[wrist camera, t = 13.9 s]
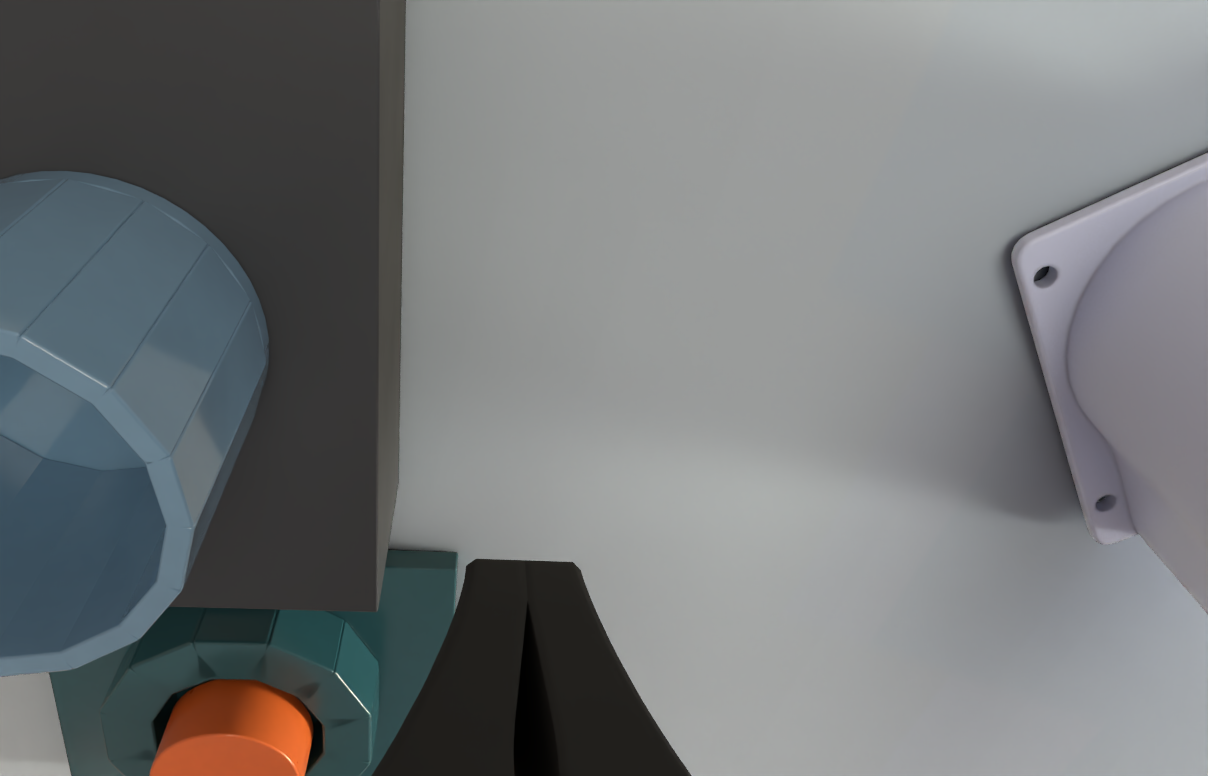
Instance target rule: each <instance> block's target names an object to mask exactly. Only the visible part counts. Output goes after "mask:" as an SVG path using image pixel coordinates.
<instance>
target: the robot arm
mask: <svg viewBox="0 0 1208 776" xmlns="http://www.w3.org/2000/svg"><path fill="white" fill-rule="evenodd" d="M1011 261H1012V265H1013V269H1014V273H1015V276H1016V280H1017V283H1018V287H1019V290H1020V294H1021V297H1022V301H1023V304H1024V308H1025V311H1026V315H1027V318H1028V322H1029V325H1030V329H1031V332H1032V336H1033V339H1034V343H1035V346H1036V350H1037V353H1038V357H1039V360H1040V364H1041V367H1042V371H1043V374H1044V378H1045V381H1046V385H1047V388H1048V392H1049V395H1050V399H1051V402H1052V406H1053V410H1054V413H1055V417H1056V420H1057V424H1058V427H1059V431H1060V434H1061V438H1062V441H1063V445H1064V448H1065V452H1066V455H1067V459H1068V462H1069V466H1070V469H1071V473H1072V476H1073V480H1074V483H1075V487H1076V490H1077V494H1078V497H1079V501H1080V504H1081V508H1082V511H1083V515H1084V518H1085V522H1086V525H1087V529H1088V531H1089V533H1090V534H1091V535H1092V537H1093V538H1094V539H1095V540H1096V542H1098V543H1100V544H1105V545H1109V544H1114V543H1117V542H1120V541H1122V540H1125V539H1127V538H1130V537H1132V536H1135V535H1137V534H1139V535H1140V536H1141V538H1142V539H1143V540H1144V541H1145V542H1146V543H1147V544H1148V546H1149V547H1150V548H1151V549H1152V550H1153V551H1154V553H1155V554H1156V555H1157V556H1158V557H1159V558H1160V559H1161V561H1162V562H1163V563H1164V564H1165V565H1166V566H1167V568H1168V569H1169V570H1170V571H1171V572H1172V573H1173V574H1174V576H1175V577H1176V578H1177V579H1178V580H1179V581H1180V583H1181V584H1182V585H1183V586H1184V587H1185V588H1186V589H1187V591H1188V592H1189V593H1190V594H1191V595H1192V596H1193V598H1194V599H1195V600H1196V601H1197V602H1198V603H1199V604H1200V606H1201V607H1202V608H1203V609H1204V610H1205V611H1206V613H1207V614H1208V153H1205V154H1203V155H1201V156H1199V157H1196V158H1194V159H1192V160H1190V161H1188V162H1185V163H1183V164H1181V165H1179V166H1177V167H1174V168H1172V169H1170V170H1168V171H1165V172H1163V173H1161V174H1159V175H1157V176H1154V177H1152V178H1150V179H1148V180H1145V181H1143V182H1141V183H1139V184H1137V185H1134V186H1132V187H1130V188H1128V189H1126V190H1123V191H1121V192H1119V193H1117V194H1114V195H1112V196H1110V197H1108V198H1106V199H1103V200H1101V201H1099V202H1097V203H1094V204H1092V205H1090V206H1088V207H1086V208H1083V209H1081V210H1079V211H1077V212H1075V213H1072V214H1070V215H1068V216H1066V217H1063V218H1061V219H1059V220H1057V221H1055V222H1052V223H1050V224H1048V225H1046V226H1043V227H1041V228H1039V229H1037V230H1035V231H1032V232H1030V233H1028V234H1027V235H1025V236H1023V237H1022V238H1020V239H1019V241H1018V242H1017V243H1016V244H1015V246H1014V248H1013V251H1012V253H1011ZM1047 266H1049V271H1048V273H1047V275H1046V276H1045V277H1044V278H1042V279H1041V280H1038V281H1034V276H1035V274H1036V273H1037V271H1038V270H1040V269H1041V268H1043V267H1047ZM1105 495H1107V496H1106V497H1105V499H1103V500H1101V501H1100V502H1097V501H1098V500H1099V499H1100V498H1101V497H1103V496H1105ZM372 776H691V774H690V773H689V772H688V770H687V769H686V767H685V766H684V764H683V763H682V762H681V760H680V759H679V757H678V756H677V754H676V753H675V751H674V750H673V748H672V747H671V745H670V744H669V742H668V741H667V739H666V738H665V736H664V735H663V733H662V731H661V730H660V728H659V727H658V725H657V724H656V722H655V721H654V719H653V717H652V716H651V714H650V713H649V711H648V709H647V708H646V706H645V704H644V703H643V701H642V699H641V697H640V696H639V694H638V692H637V691H636V689H635V687H634V685H633V683H632V681H631V680H630V678H629V676H628V674H627V672H626V671H625V669H624V667H623V665H622V663H621V661H620V660H619V658H618V656H617V654H616V652H615V650H614V648H613V646H612V644H611V642H610V640H609V638H608V636H607V634H606V632H605V630H604V628H603V625H602V623H601V621H600V619H599V617H598V615H597V612H596V610H595V608H594V605H593V603H592V601H591V598H590V596H589V593H588V591H587V588H586V585H585V583H584V580H583V577H582V573H581V570H580V569H579V568H578V567H577V566H576V565H575V564H574V563H573V562H551V561H522V560H492V559H475V560H474V561H472V562H471V563H470V564H468V565H467V566H466V573H465V579H464V584H463V588H462V592H461V596H460V599H459V602H458V605H457V608H456V611H455V614H454V617H453V619H452V622H451V624H450V627H449V630H448V632H447V635H446V637H445V640H444V642H443V644H442V646H441V648H440V651H439V653H438V655H437V657H436V659H435V662H434V664H433V666H432V668H431V670H430V673H429V675H428V677H427V679H426V681H425V683H424V685H423V687H422V689H421V691H420V693H419V695H418V697H417V698H416V700H415V702H414V704H413V706H412V708H411V709H410V711H409V713H408V715H407V717H406V718H405V720H404V722H403V724H402V726H401V728H400V729H399V731H398V733H397V735H396V737H395V738H394V740H393V742H392V743H391V745H390V747H389V748H388V750H387V752H386V753H385V755H384V757H383V758H382V760H381V761H380V763H379V765H378V766H377V768H376V769H375V771H374V773H373V774H372Z"/></svg>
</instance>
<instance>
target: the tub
mask: <svg viewBox="0 0 1208 776" xmlns="http://www.w3.org/2000/svg"><path fill="white" fill-rule="evenodd" d="M268 362H269V337H268V331H267V325H266V319H265V316H264V313H263V310H262V307H261V304H260V301H259V298H258V296H257V294H256V292H255V290H254V288H253V286H252V283H251V281H250V279H249V278H248V276H247V275H246V273H245V272H244V270H243V269H242V267H241V265H240V264H239V262H238V261H237V260H236V258H235V257H234V256H233V255H232V254H231V252H230V251H229V250H228V249H227V248H226V246H225V245H224V244H223V243H222V242H221V241H220V240H219V239H218V238H217V237H216V236H215V235H214V234H213V233H212V232H211V231H210V230H209V229H208V228H207V227H205V226H204V225H203V224H202V223H200V222H199V221H198V220H196V219H195V218H194V217H192V216H191V215H190V214H189V213H187V212H186V211H184V210H183V209H181V208H179V207H178V206H176V205H174V204H173V203H171V202H169V201H168V200H166V199H164V198H162V197H160V196H158V195H156V194H154V193H152V192H150V191H147V190H145V189H143V188H141V187H138V186H135V185H132V184H129V183H126V182H123V181H121V180H118V179H113V178H109V177H104V176H100V175H95V174H91V173H81V172H72V171H39V172H32V173H25V174H18V175H15V176H11V177H7V178H4V179H0V677H5V676H16V675H26V674H36V673H46V672H56V671H66V670H71V669H76V668H78V667H80V666H82V665H85V664H87V663H89V662H91V661H94V660H96V659H98V658H100V657H102V656H105V655H107V654H109V653H111V652H114V651H116V650H118V649H120V648H122V647H125V646H127V645H129V644H131V643H134V642H136V641H137V640H138V639H140V638H141V637H142V636H143V635H144V634H145V633H146V632H147V631H148V630H149V628H150V627H151V626H152V625H153V624H154V623H155V622H156V620H157V619H158V618H159V617H160V616H161V615H162V614H163V612H164V611H165V610H166V609H167V608H168V607H169V606H170V604H171V603H172V602H173V601H174V600H175V599H176V598H177V596H178V595H179V594H180V593H181V591H182V589H183V588H184V585H185V583H186V580H187V578H188V576H189V573H190V571H191V568H192V566H193V563H194V561H195V559H196V556H197V554H198V551H199V549H200V547H201V544H202V542H203V539H204V537H205V534H206V532H207V530H208V527H209V525H210V522H211V520H212V517H213V515H214V513H215V510H216V508H217V505H218V503H219V501H220V498H221V496H222V493H223V491H224V488H225V486H226V484H227V481H228V479H229V476H230V474H231V472H232V469H233V467H234V464H235V462H236V459H237V457H238V455H239V452H240V450H241V447H242V445H243V443H244V440H245V438H246V435H247V433H248V430H249V428H250V426H251V423H252V421H253V418H254V416H255V413H256V409H257V404H258V400H259V397H260V394H261V392H262V389H263V385H264V382H265V379H266V376H267V369H268Z"/></svg>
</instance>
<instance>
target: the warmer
mask: <svg viewBox="0 0 1208 776" xmlns="http://www.w3.org/2000/svg"><path fill="white" fill-rule="evenodd" d="M405 13H406V0H0V179H4V178H7V177H11V176H15V175H18V174H25V173H32V172H39V171H72V172H81V173H91V174H95V175H100V176H104V177H109V178H113V179H118V180H121V181H123V182H126V183H129V184H132V185H135V186H138V187H141V188H143V189H145V190H147V191H150V192H152V193H154V194H156V195H158V196H160V197H162V198H164V199H166V200H168V201H169V202H171V203H173V204H174V205H176V206H178V207H179V208H181V209H183V210H184V211H186V212H187V213H189V214H190V215H191V216H192V217H194V218H195V219H196V220H198V221H199V222H200V223H202V224H203V225H204V226H205V227H207V228H208V229H209V230H210V231H211V232H212V233H213V234H214V235H215V236H216V237H217V238H218V239H219V240H220V241H221V242H222V243H223V244H224V245H225V246H226V248H227V249H228V250H229V251H230V252H231V254H232V255H233V256H234V257H235V258H236V260H237V261H238V262H239V264H240V265H241V267H242V269H243V270H244V272H245V273H246V275H247V276H248V278H249V279H250V281H251V283H252V286H253V288H254V290H255V292H256V294H257V296H258V298H259V301H260V304H261V307H262V310H263V313H264V316H265V319H266V325H267V331H268V337H269V362H268V369H267V376H266V379H265V382H264V385H263V389H262V392H261V394H260V397H259V400H258V404H257V409H256V413H255V416H254V418H253V421H252V423H251V426H250V428H249V430H248V433H247V435H246V438H245V440H244V443H243V445H242V447H241V450H240V452H239V455H238V457H237V459H236V462H235V464H234V467H233V469H232V472H231V474H230V476H229V479H228V481H227V484H226V486H225V488H224V491H223V493H222V496H221V498H220V501H219V503H218V505H217V508H216V510H215V513H214V515H213V517H212V520H211V522H210V525H209V527H208V530H207V532H206V534H205V537H204V539H203V542H202V544H201V547H200V549H199V551H198V554H197V556H196V559H195V561H194V563H193V566H192V568H191V571H190V573H189V576H188V578H187V580H186V583H185V585H184V588H183V589H182V591H181V593H180V594H179V595H178V596H177V598H176V599H175V600H174V601H173V602H172V603H171V604H170V606H169V607H205V608H243V609H280V610H317V611H354V612H377V611H378V608H379V602H380V595H381V589H382V583H383V577H384V570H385V564H386V558H387V552H388V545H389V539H390V533H391V527H392V520H393V514H394V508H395V502H396V495H397V489H398V483H399V417H400V350H401V282H402V215H403V148H404V81H405Z"/></svg>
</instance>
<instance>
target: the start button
mask: <svg viewBox="0 0 1208 776" xmlns="http://www.w3.org/2000/svg"><path fill="white" fill-rule="evenodd" d="M313 731H314V728H313V722H312V719H311V716H310V714H309V712H308V710H307V709H306V707H305V706H304V705H303V703H302V702H301V701H300V700H299V699H298V698H297V697H295V696H294V695H291V694H289V693H286V692H284V691H281V690H279V689H277V688H274V687H272V686H269V685H267V684H264V683H262V682H259V681H257V680H226V679H216V680H211V681H208V682H205V683H202V684H200V685H198V686H196V687H194V688H192V689H191V690H189V691H188V692H187V693H185V694H184V695H183V696H182V697H181V698H180V699H179V700H178V701H177V703H176V704H175V706H174V708H173V710H172V713H171V715H170V718H169V721H168V723H167V726H166V729H165V732H164V734H163V737H162V740H161V742H160V745H159V748H158V750H157V753H156V756H155V759H154V761H153V764H152V767H151V769H150V775H149V776H305V772H306V768H307V763H308V758H309V753H310V748H311V744H312V739H313Z"/></svg>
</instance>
